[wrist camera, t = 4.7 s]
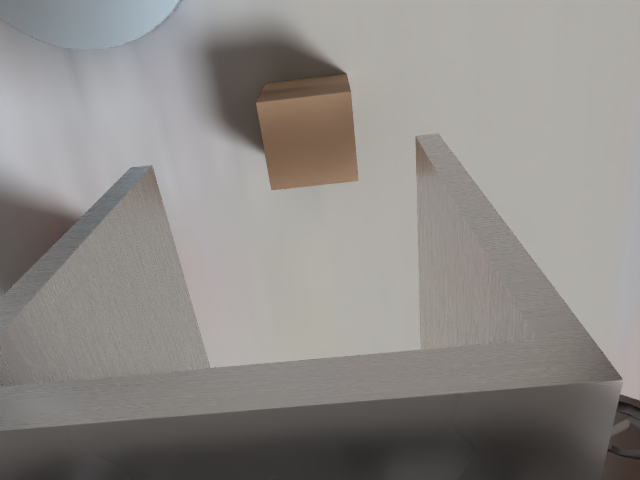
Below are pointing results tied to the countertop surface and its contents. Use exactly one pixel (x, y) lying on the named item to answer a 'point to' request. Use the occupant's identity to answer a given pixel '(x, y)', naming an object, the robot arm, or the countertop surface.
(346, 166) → the block
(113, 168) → the countertop surface
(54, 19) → the dish
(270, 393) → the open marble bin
